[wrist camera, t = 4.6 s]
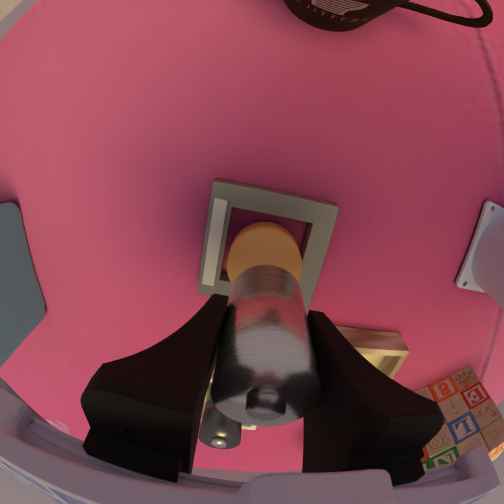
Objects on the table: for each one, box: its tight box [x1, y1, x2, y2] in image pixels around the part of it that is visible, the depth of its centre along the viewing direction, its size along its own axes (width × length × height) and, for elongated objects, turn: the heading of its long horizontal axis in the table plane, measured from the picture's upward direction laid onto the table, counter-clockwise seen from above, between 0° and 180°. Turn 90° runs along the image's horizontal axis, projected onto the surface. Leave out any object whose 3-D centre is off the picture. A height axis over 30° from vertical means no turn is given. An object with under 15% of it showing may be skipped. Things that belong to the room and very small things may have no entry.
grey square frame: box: [197, 178, 339, 313], centre depth 19 cm, size 8×8×2 cm
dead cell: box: [199, 383, 242, 449], centre depth 22 cm, size 3×3×6 cm
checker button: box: [227, 222, 302, 283], centre depth 18 cm, size 4×4×2 cm
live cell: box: [210, 265, 321, 426], centre depth 11 cm, size 3×3×6 cm
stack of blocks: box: [415, 365, 504, 470], centre depth 22 cm, size 21×6×12 cm, turn 112°
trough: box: [336, 326, 410, 379], centre depth 23 cm, size 10×6×3 cm, turn 79°
